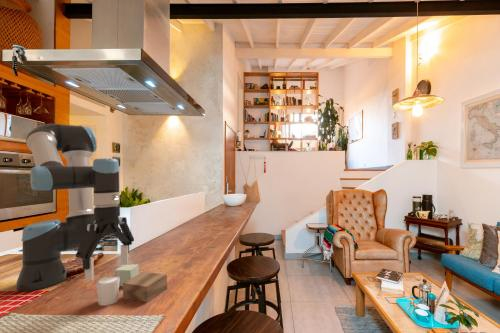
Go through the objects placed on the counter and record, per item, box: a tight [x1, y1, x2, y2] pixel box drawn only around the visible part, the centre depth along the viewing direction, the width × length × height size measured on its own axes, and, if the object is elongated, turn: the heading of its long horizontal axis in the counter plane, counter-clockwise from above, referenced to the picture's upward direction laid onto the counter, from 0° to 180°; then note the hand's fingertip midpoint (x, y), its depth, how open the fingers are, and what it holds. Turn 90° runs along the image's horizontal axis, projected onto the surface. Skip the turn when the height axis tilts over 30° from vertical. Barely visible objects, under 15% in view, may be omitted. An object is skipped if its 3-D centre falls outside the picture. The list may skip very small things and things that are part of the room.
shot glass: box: [95, 275, 120, 307], centre depth 86 cm, size 7×7×7 cm
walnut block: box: [122, 271, 168, 303], centre depth 90 cm, size 10×10×5 cm
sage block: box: [114, 264, 140, 287], centre depth 99 cm, size 6×6×6 cm
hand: (108, 271), depth 85 cm, fingers open, 13 cm apart
